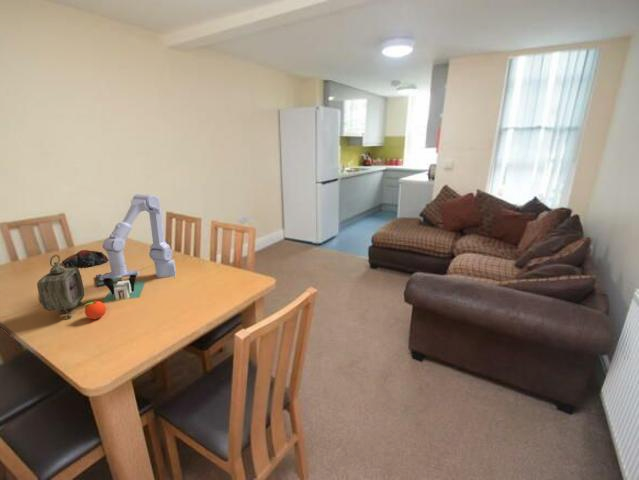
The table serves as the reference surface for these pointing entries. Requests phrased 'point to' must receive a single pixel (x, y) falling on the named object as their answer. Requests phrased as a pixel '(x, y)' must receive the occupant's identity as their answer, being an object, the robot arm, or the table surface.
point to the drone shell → (85, 259)
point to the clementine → (95, 310)
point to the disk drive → (100, 282)
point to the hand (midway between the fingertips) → (123, 292)
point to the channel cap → (122, 286)
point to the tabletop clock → (61, 288)
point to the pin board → (135, 294)
